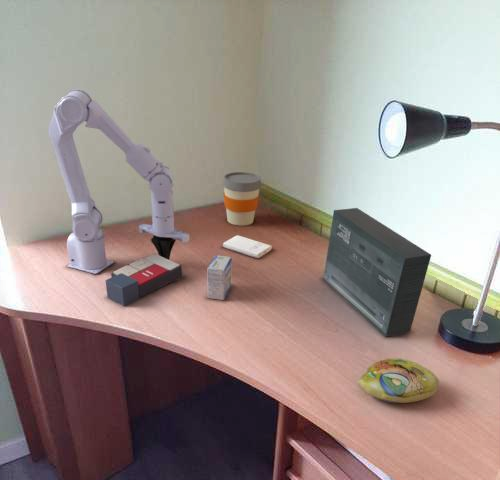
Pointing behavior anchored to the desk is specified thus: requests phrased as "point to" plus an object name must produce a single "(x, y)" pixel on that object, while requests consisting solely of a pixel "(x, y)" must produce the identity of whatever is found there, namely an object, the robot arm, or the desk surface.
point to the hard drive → (247, 246)
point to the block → (122, 289)
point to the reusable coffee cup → (241, 197)
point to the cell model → (399, 381)
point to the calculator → (151, 272)
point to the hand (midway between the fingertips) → (165, 260)
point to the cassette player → (375, 270)
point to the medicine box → (219, 277)
